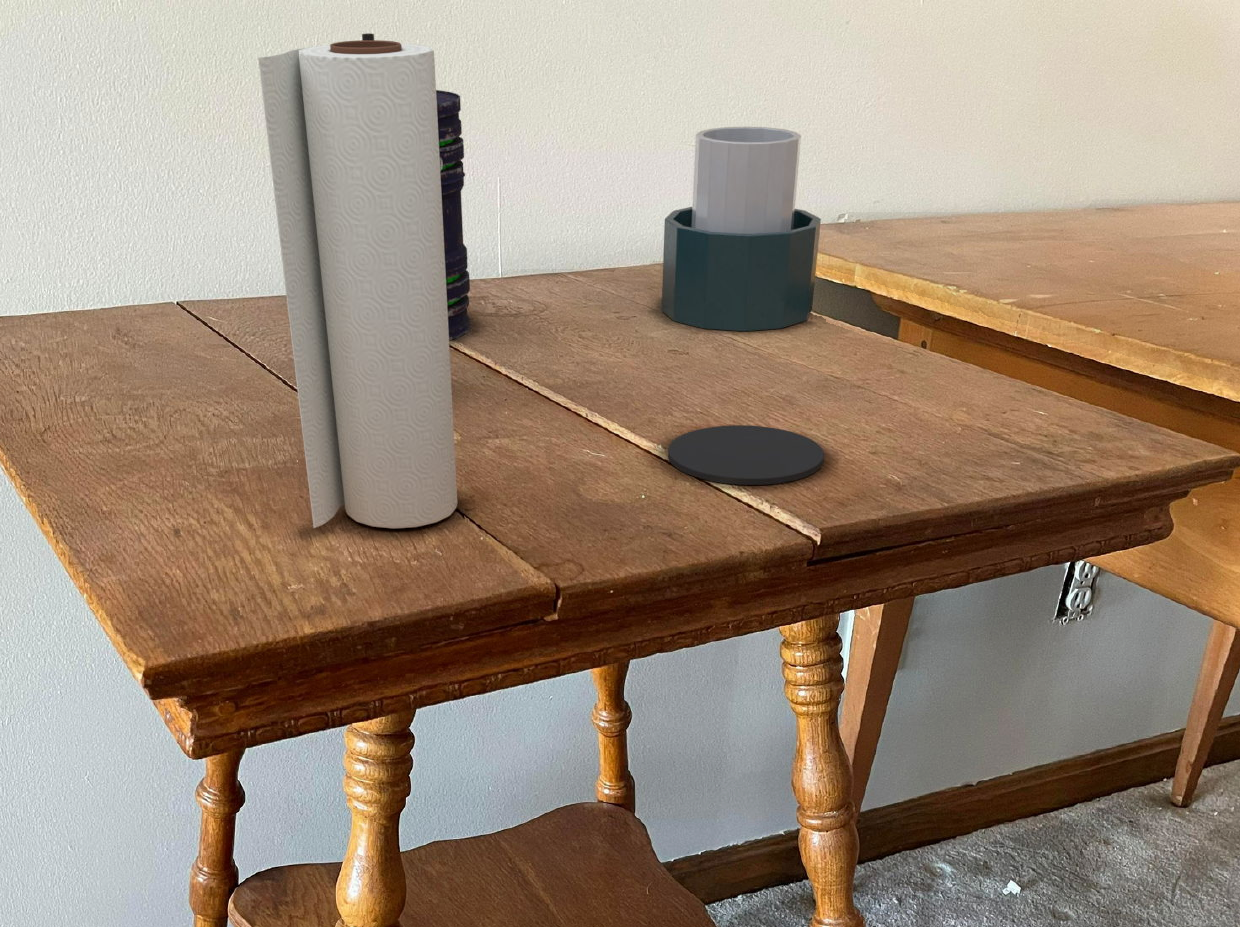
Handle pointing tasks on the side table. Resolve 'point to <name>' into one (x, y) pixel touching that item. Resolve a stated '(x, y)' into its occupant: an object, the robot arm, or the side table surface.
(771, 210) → the silver cup
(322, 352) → the paper towel roll
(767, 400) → the side table surface
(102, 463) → the side table surface
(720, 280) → the pail
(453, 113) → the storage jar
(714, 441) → the coaster
